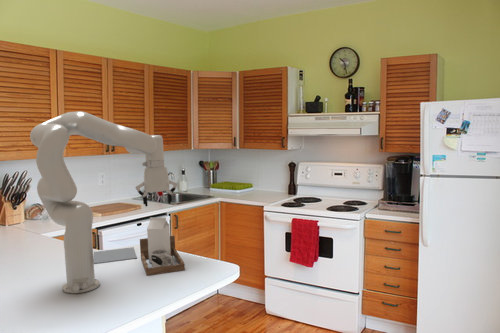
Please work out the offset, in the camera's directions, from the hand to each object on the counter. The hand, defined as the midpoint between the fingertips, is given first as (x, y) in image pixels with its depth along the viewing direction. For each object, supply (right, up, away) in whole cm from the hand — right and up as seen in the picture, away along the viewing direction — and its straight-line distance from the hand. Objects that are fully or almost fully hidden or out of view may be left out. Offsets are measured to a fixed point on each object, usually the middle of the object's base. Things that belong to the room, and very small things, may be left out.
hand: (157, 204), depth 185 cm
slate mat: (-22, -24, +12) cm, 35 cm away
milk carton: (+1, -25, +2) cm, 25 cm away
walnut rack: (+2, -25, -3) cm, 25 cm away
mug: (+4, -26, -7) cm, 27 cm away
